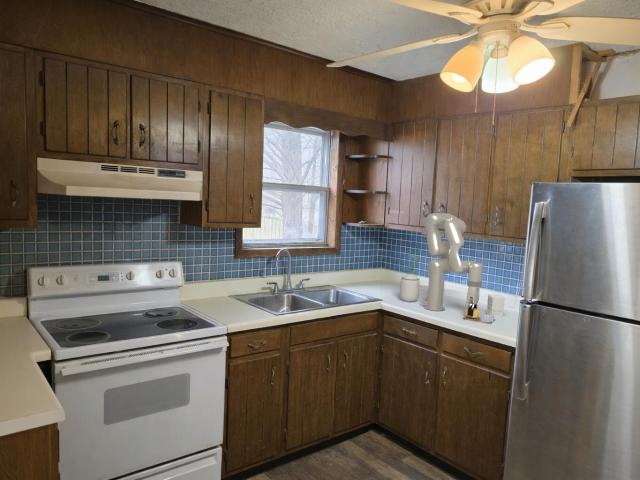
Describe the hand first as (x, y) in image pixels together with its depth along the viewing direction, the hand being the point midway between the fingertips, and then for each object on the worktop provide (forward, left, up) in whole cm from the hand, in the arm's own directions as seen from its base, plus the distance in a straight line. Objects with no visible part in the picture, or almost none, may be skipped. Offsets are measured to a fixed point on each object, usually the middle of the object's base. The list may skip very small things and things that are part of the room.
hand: (472, 314), depth 270 cm
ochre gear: (0, 0, -1) cm, 1 cm away
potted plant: (-47, +22, -4) cm, 52 cm away
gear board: (+4, 0, -3) cm, 5 cm away
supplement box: (+9, +18, -4) cm, 20 cm away
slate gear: (+8, 0, -2) cm, 8 cm away
